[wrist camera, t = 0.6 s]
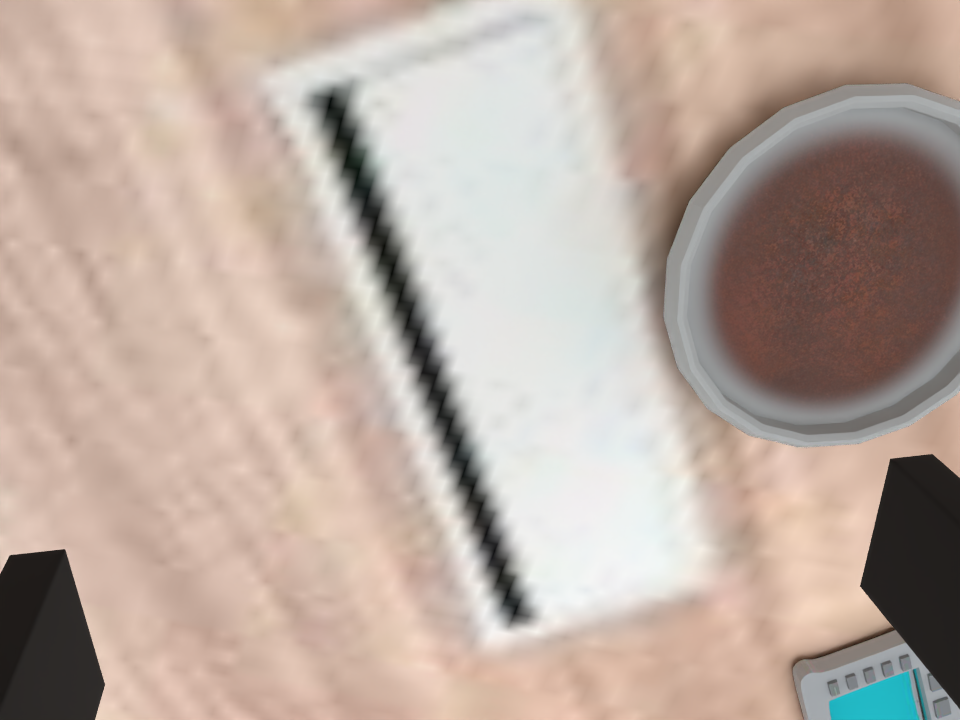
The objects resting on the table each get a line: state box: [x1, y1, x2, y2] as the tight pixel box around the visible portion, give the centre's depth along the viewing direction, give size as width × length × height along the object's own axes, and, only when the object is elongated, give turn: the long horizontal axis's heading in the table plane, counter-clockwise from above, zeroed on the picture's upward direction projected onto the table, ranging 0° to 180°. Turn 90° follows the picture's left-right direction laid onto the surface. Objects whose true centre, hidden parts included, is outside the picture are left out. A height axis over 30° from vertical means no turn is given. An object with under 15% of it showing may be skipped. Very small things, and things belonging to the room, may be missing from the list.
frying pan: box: [663, 83, 960, 447], centre depth 40 cm, size 17×3×28 cm
